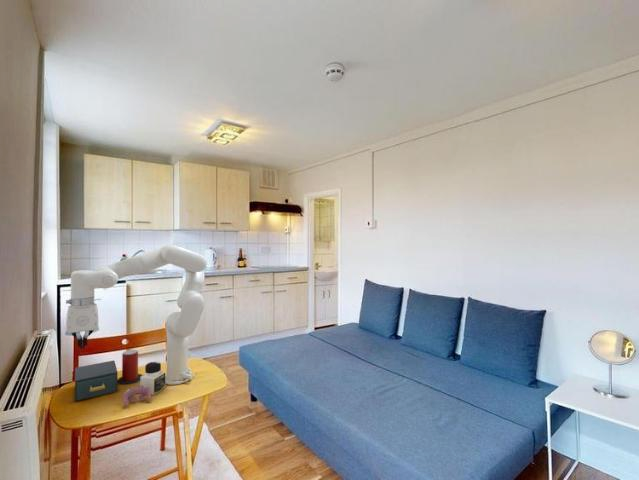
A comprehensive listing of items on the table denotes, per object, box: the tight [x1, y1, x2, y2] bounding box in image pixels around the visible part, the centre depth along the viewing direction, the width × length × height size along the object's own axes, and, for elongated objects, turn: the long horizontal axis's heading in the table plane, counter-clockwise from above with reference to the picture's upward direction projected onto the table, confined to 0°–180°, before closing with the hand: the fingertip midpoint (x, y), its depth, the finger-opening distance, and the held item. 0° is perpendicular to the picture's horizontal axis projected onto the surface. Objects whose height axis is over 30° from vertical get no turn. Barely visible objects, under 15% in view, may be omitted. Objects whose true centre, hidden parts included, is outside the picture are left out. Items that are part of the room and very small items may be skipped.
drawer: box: [77, 374, 116, 401], centre depth 137 cm, size 19×13×7 cm
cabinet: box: [74, 359, 119, 402], centre depth 140 cm, size 16×15×9 cm
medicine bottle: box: [139, 361, 166, 396], centre depth 140 cm, size 7×7×12 cm
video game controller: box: [122, 385, 152, 409], centre depth 130 cm, size 10×5×7 cm, turn 123°
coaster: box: [117, 373, 144, 386], centre depth 150 cm, size 10×10×1 cm
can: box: [121, 349, 139, 382], centre depth 150 cm, size 6×6×13 cm
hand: (82, 347), depth 126 cm, fingers closed
